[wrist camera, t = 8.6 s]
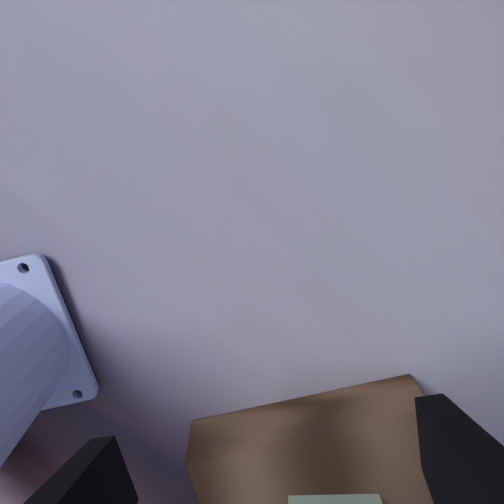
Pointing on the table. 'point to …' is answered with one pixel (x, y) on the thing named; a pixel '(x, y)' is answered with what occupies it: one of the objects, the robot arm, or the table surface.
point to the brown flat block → (313, 448)
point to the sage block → (335, 499)
